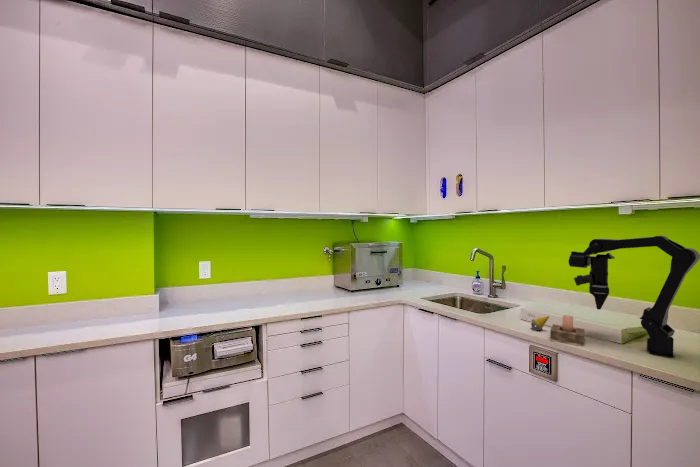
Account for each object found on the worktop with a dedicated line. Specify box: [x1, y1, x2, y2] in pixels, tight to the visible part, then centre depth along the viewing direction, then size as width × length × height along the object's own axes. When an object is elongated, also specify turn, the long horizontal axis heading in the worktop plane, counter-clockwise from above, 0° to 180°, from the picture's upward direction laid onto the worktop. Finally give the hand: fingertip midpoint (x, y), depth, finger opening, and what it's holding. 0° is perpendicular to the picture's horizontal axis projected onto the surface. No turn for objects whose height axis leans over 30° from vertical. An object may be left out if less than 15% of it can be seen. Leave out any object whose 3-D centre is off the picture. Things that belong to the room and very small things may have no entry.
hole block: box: [549, 324, 586, 347], centre depth 133 cm, size 11×11×4 cm
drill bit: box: [530, 315, 551, 332], centre depth 145 cm, size 5×5×10 cm
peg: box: [561, 314, 574, 332], centre depth 133 cm, size 4×4×9 cm
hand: (598, 307), depth 134 cm, fingers open, 9 cm apart
